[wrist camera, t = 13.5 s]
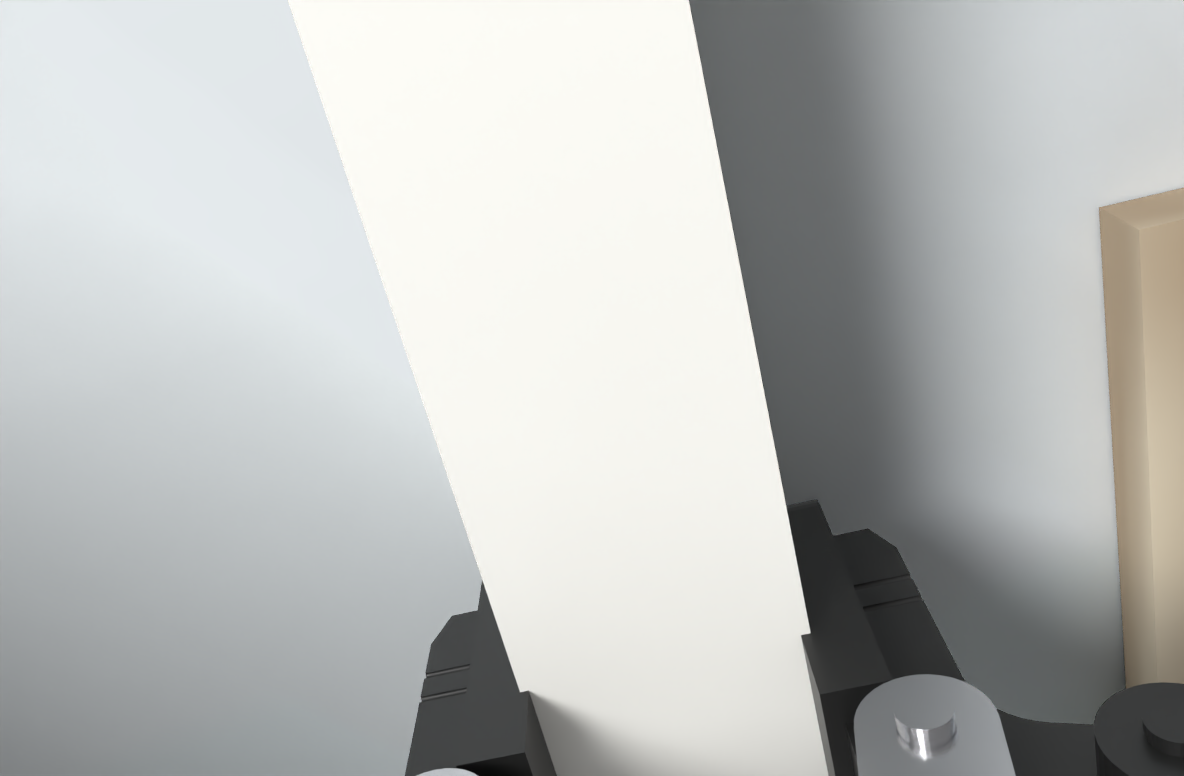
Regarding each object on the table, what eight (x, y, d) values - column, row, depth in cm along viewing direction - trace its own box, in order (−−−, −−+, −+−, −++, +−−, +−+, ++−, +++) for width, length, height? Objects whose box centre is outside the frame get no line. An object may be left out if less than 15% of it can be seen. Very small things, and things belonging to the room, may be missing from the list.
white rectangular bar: (617, 795, 16) (628, 1014, 13) (225, -496, 10) (53, -698, 7) (815, 757, 16) (875, 970, 13) (541, -592, 10) (524, -853, 6)
